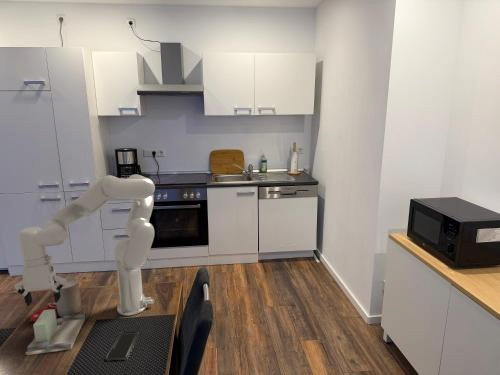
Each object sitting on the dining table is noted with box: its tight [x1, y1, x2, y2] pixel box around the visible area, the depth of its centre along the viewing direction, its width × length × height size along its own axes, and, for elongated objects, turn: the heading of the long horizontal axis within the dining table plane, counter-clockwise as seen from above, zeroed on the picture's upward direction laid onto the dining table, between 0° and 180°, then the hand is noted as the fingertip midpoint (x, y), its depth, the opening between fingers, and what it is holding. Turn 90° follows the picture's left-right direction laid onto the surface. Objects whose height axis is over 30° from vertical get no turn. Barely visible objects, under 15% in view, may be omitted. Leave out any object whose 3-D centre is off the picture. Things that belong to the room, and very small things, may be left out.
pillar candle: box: [55, 277, 83, 318], centre depth 146 cm, size 10×10×15 cm
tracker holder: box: [29, 302, 58, 323], centre depth 143 cm, size 12×4×10 cm
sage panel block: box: [32, 308, 57, 342], centre depth 129 cm, size 4×10×8 cm, turn 12°
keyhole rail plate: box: [25, 313, 86, 356], centre depth 131 cm, size 15×19×2 cm
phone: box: [105, 331, 140, 361], centre depth 124 cm, size 8×1×15 cm
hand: (43, 302), depth 127 cm, fingers open, 9 cm apart
